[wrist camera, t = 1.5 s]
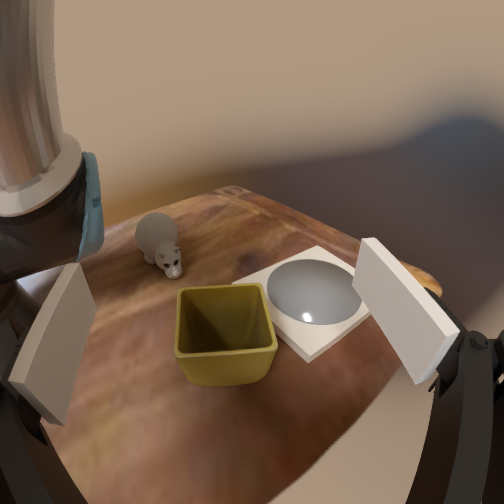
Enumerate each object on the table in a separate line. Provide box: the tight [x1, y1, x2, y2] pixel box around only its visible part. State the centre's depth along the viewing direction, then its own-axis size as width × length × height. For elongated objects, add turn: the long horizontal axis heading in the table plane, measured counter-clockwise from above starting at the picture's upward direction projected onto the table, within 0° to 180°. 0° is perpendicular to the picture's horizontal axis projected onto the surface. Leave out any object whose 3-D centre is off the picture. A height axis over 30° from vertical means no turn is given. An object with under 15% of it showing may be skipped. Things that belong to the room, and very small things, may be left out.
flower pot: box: [174, 283, 278, 387], centre depth 28 cm, size 9×9×9 cm
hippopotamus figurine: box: [135, 212, 182, 279], centre depth 44 cm, size 7×12×8 cm, turn 34°
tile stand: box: [232, 245, 371, 363], centre depth 40 cm, size 16×18×2 cm
